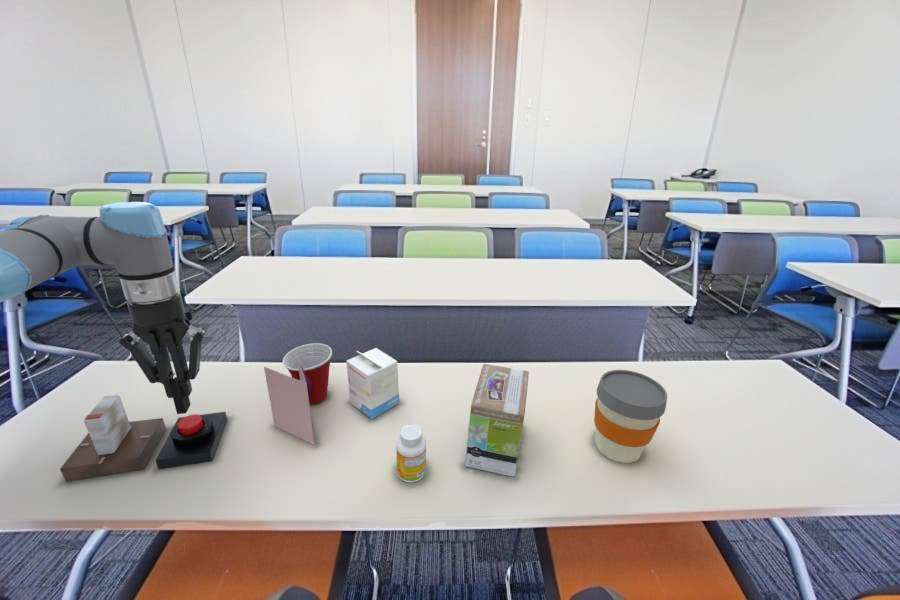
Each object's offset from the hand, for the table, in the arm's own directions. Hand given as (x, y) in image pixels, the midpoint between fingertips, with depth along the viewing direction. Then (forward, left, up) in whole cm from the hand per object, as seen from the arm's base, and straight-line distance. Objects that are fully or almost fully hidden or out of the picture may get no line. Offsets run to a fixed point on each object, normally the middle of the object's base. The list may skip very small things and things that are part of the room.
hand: (184, 409), depth 76 cm
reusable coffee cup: (+84, -20, -9) cm, 87 cm away
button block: (0, 0, -8) cm, 8 cm away
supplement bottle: (+41, -17, -9) cm, 46 cm away
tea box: (+59, -14, -9) cm, 62 cm away
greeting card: (+19, -1, -9) cm, 21 cm away
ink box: (+36, +5, -9) cm, 38 cm away
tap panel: (-13, 0, -8) cm, 15 cm away
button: (0, 0, -5) cm, 5 cm away
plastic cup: (+22, +10, -9) cm, 26 cm away
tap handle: (-13, 0, -5) cm, 14 cm away
